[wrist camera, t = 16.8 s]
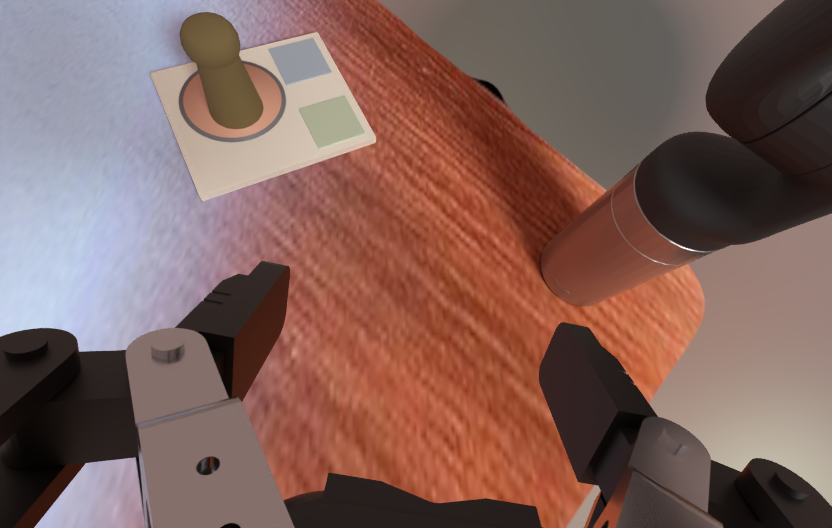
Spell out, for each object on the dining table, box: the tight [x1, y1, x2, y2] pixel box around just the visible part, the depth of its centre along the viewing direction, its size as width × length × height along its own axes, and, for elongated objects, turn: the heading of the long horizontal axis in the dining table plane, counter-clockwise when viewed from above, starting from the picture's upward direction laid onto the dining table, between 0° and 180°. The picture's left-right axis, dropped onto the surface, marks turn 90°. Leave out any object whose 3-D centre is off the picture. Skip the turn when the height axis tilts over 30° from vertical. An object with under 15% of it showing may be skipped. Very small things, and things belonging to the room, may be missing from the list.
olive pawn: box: [180, 12, 264, 129], centre depth 42 cm, size 6×6×11 cm
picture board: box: [150, 32, 376, 201], centre depth 49 cm, size 21×18×1 cm
